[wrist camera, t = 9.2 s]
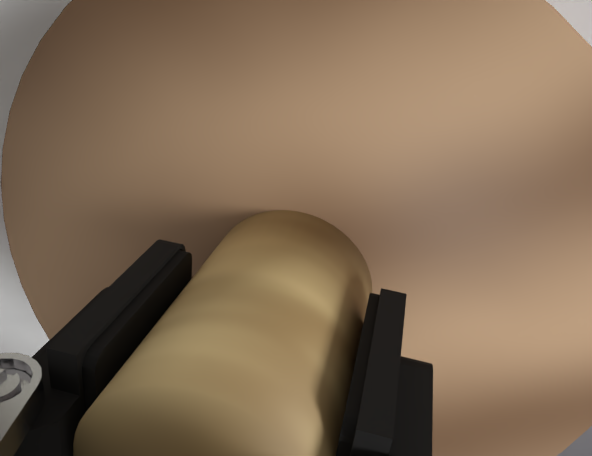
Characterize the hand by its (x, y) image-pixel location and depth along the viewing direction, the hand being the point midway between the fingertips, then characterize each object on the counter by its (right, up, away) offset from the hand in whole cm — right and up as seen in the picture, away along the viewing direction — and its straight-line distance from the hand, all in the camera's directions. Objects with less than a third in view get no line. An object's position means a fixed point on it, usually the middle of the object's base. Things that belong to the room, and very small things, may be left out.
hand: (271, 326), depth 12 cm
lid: (+1, +1, +2) cm, 3 cm away
